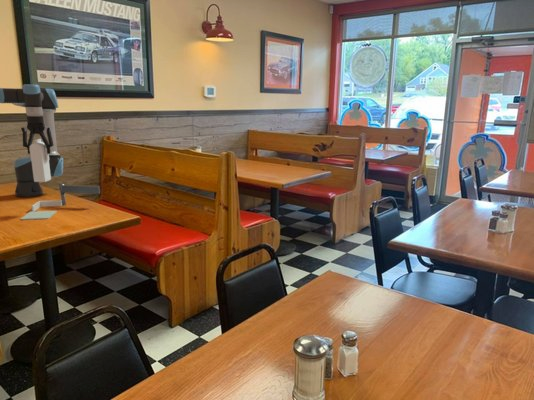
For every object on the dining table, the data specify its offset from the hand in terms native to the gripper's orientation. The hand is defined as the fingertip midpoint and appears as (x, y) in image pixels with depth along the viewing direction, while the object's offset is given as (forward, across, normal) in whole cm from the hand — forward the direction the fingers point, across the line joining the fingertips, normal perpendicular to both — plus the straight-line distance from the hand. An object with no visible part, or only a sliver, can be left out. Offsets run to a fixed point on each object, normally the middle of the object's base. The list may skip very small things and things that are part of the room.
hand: (40, 160), depth 216 cm
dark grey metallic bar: (+20, +16, +8) cm, 27 cm away
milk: (+11, 0, 0) cm, 11 cm away
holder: (+27, 0, +5) cm, 28 cm away
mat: (+28, 0, -10) cm, 29 cm away
